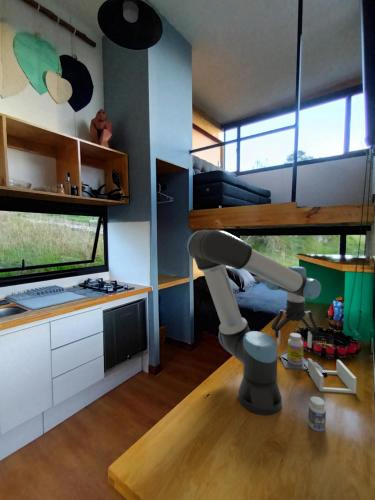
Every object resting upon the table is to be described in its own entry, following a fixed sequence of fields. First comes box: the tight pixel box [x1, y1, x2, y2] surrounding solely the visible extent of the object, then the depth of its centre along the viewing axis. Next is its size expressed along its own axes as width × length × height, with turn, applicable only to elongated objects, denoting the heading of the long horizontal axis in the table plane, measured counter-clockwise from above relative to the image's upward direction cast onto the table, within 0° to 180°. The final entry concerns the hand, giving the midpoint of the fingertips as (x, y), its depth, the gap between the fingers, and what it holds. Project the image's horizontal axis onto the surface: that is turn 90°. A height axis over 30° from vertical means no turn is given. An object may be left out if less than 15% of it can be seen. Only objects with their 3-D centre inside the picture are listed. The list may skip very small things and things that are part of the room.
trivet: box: [278, 354, 308, 371], centre depth 112 cm, size 11×11×1 cm
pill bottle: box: [307, 396, 327, 432], centre depth 76 cm, size 5×5×8 cm
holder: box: [307, 358, 357, 394], centre depth 98 cm, size 13×13×6 cm
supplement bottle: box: [286, 332, 304, 365], centre depth 112 cm, size 7×7×13 cm
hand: (293, 345), depth 111 cm, fingers open, 13 cm apart
